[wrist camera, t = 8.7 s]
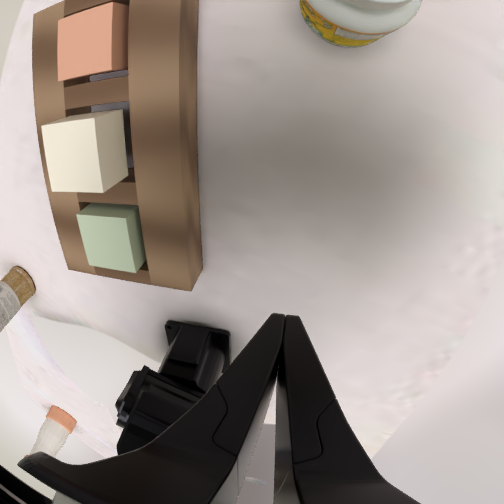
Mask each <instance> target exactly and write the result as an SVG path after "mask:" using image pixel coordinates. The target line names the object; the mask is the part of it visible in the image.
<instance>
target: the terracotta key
mask: <svg viewBox="0 0 504 504" xmlns="http://www.w3.org/2000/svg"><path fill="white" fill-rule="evenodd" d="M128 29H129V6H128V5H124V4H120V3H115V2H111V3H107V4H104V5H101V6H97V7H94V8H91V9H88V10H85V11H82V12H79V13H76V14H73V15H71V16H68V17H65V18H63V19H60V20H58V43H57V59H58V81H64V80H70V79H76V78H82V77H88V76H93V75H98V74H103V73H109V72H114V71H120V70H127V69H128Z"/></svg>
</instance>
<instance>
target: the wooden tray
mask: <svg viewBox="0 0 504 504" xmlns="http://www.w3.org/2000/svg"><path fill="white" fill-rule="evenodd" d="M111 2H115V3H120V4H124V5H128V6H129V29H128V76H123V77H116V78H110V79H104V80H99V81H93V82H89V76H88V77H82V78H76V79H70V80H64V81H58V59H57V43H58V20H60V19H63V18H65V17H68V16H71V15H73V14H76V13H79V12H82V11H85V10H88V9H91V8H94V7H97V6H101V5H104V4H107V3H111ZM198 2H199V0H64V1H62V2H60V3H57V4H55V5H53V6H50V7H48V8H46V9H44V10H42V11H40V12H38V13H36V14H34V16H33V38H32V69H33V91H34V105H35V116H36V125H37V133H38V141H39V148H40V154H41V160H42V166H43V172H44V177H45V182H46V187H47V192H48V196H49V201H50V205H51V209H52V214H53V218H54V222H55V225H56V229H57V233H58V237H59V240H60V244H61V247H62V250H63V254H64V257H65V260H66V263H67V266H68V269H69V270H74V271H79V272H84V273H89V274H94V275H99V276H104V277H110V278H115V279H121V280H126V281H132V282H137V283H143V284H149V285H155V286H161V287H167V288H173V289H179V290H185V291H192V289H193V287H194V285H195V283H196V281H197V279H198V277H199V275H200V273H201V271H202V269H203V265H202V250H201V233H200V213H199V191H198V161H197V28H198ZM122 101H129V107H130V125H131V139H132V151H133V162H134V168H128V176H127V177H125V178H124V179H122V180H121V181H120V182H118V183H117V184H115V185H114V186H112V187H111V188H110V189H108V190H107V191H105V192H104V193H90V192H52V189H51V184H50V179H49V174H48V168H47V163H46V157H45V150H44V143H43V136H42V128H41V126H42V125H45V124H48V123H51V122H53V121H56V120H59V119H62V118H65V117H68V116H72V115H79V114H86V113H91V108H90V106H91V105H98V104H105V103H113V102H122ZM92 202H94V203H111V204H127V205H139V213H140V220H141V227H142V233H143V240H144V246H145V252H146V258H147V259H146V261H145V262H144V263H143V265H142V266H141V267H140V268H139V270H138V271H137V272H136V273H132V272H126V271H120V270H114V269H108V268H103V267H97V266H91V265H89V263H88V259H87V256H86V252H85V248H84V244H83V241H82V237H81V233H80V228H79V224H78V220H77V215H76V214H77V213H79V212H80V211H81V210H83V209H84V208H85V207H86V206H88V205H89V204H90V203H92Z"/></svg>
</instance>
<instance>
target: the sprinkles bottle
mask: <svg viewBox="0 0 504 504" xmlns="http://www.w3.org/2000/svg"><path fill="white" fill-rule="evenodd" d="M34 292H35V288H34V284H33V282H32V280H31V278H30V277H29V275H28V274H27V273H26V272H25V271H24V270H23V269H21V268H19V267H13V268H12V269H11V271H10V272H9V273H8V274H7V275H6V276H5V277H4V278H3V279H2V280H1V281H0V332H1V331H2V329H3V328H4V327H5V326H6V325H7V324H8V323H9V321H10V320H11V319H12V318H13V317H14V315H15V314H16V313H17V312H18V311H19V310H20V308H21V307H22V305H23V304H24V303H25V302H26V301H27V300H28V299H29V298H30V297H31V296H33V294H34Z"/></svg>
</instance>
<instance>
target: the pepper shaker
mask: <svg viewBox="0 0 504 504" xmlns="http://www.w3.org/2000/svg"><path fill="white" fill-rule="evenodd" d="M46 418H47V419H46V420H45V422H44V423H43V425H42V427H41V429H40V432H39V435H38V438H37V441H36V443H35V445H34V447H33V449H32V451H31V453H30V455H31V454H34V453H37V452H39V451H41V452H44V453H46V454H48V455H50V456H52V457H54V458H55V456H56V454H57V453H58V451H59V450H60V449H61V448H62V446H63V445H64V443H65V441H66V439H67V437H68V435H69V434H71V433H72V431H73V429H74V427H75V425H76V420H75V419H74V418H73V417H72V416H70V415H69V414H68V413H67V412H65V411H64V410H62V409H60V408H58V407H56V406H51V408H50V410H49V412H48V413H47V415H46ZM27 456H29V455H26V456H25V457H27ZM25 457H24V458H25Z"/></svg>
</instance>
